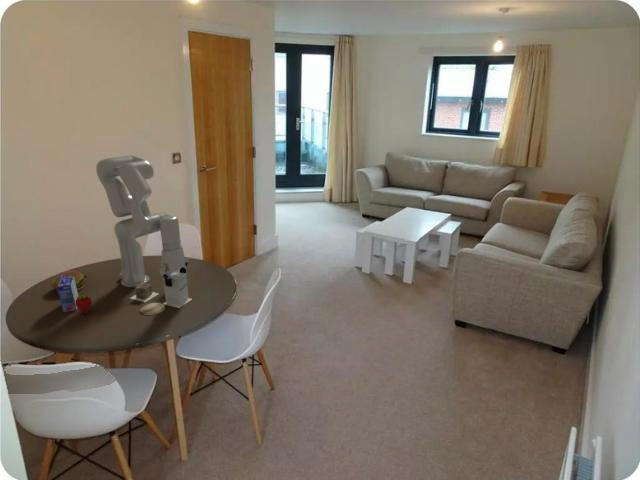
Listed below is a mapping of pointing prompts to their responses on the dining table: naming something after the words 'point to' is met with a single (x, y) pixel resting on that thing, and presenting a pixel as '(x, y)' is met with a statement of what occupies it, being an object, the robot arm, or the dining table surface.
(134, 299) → the code tile
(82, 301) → the strawberry
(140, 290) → the walnut block
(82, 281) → the food
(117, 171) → the robot arm
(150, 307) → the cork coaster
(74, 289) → the ink cartridge box
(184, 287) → the supplement box
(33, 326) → the dining table surface
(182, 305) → the code tile
